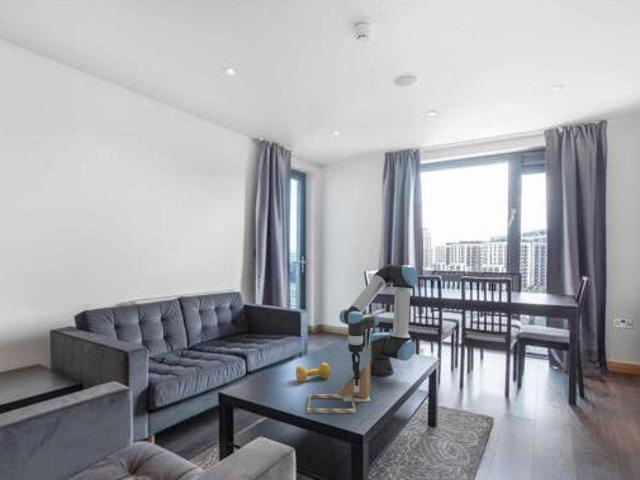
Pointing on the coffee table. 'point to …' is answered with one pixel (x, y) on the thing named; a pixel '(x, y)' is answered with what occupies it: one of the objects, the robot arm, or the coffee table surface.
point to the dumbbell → (312, 372)
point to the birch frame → (319, 410)
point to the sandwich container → (363, 384)
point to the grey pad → (357, 399)
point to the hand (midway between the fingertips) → (355, 387)
